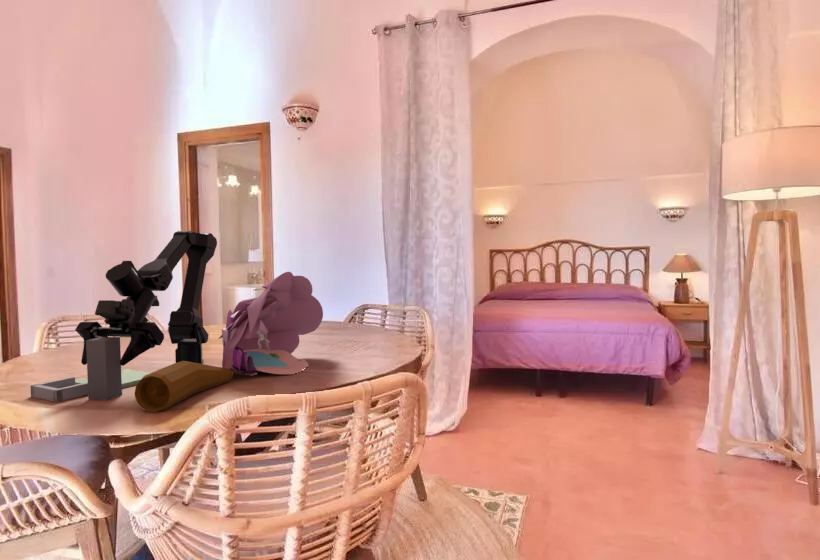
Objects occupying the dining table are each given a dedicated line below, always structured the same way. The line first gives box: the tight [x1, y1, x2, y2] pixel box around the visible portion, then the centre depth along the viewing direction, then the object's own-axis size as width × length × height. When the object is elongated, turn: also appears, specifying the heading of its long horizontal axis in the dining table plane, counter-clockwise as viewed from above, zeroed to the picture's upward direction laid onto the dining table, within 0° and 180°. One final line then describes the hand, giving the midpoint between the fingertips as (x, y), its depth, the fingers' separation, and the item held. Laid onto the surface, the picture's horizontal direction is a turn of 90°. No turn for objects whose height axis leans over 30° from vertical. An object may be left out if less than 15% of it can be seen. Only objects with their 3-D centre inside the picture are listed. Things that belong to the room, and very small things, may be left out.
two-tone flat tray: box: [30, 368, 151, 403], centre depth 117 cm, size 23×14×2 cm, turn 154°
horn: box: [134, 361, 234, 413], centre depth 109 cm, size 8×10×25 cm
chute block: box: [86, 336, 123, 401], centre depth 108 cm, size 4×4×13 cm
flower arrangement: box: [218, 271, 324, 377], centre depth 134 cm, size 36×24×29 cm
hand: (102, 364), depth 107 cm, fingers open, 9 cm apart
